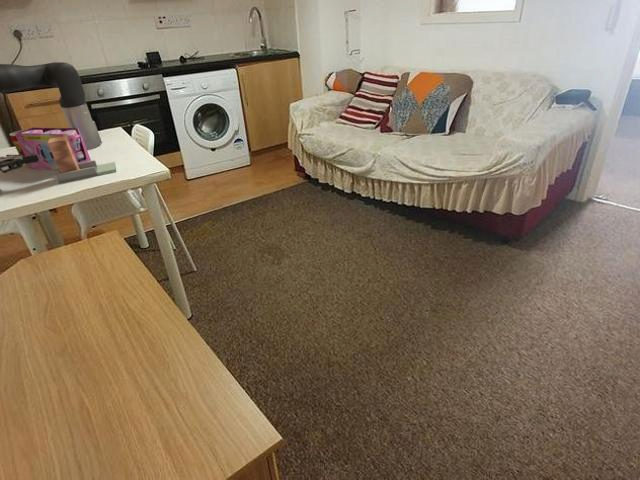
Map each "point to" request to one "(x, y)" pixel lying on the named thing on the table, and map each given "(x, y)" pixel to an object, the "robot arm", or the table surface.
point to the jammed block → (63, 154)
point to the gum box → (38, 144)
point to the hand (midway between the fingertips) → (37, 157)
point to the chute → (86, 171)
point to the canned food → (17, 144)
